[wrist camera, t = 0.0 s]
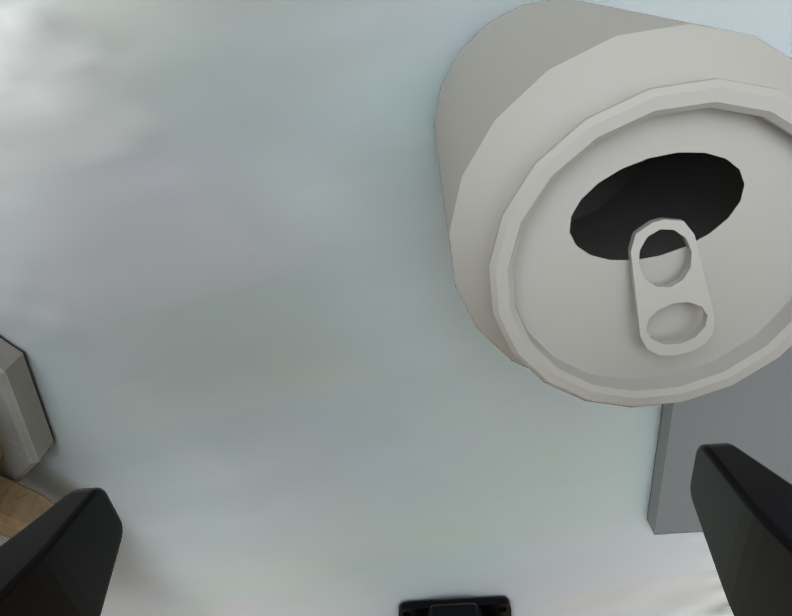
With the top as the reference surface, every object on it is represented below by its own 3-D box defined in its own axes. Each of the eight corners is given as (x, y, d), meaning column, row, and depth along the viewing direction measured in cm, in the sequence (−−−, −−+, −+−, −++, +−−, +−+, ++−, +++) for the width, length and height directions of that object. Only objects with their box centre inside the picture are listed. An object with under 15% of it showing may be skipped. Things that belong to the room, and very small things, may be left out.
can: (638, -40, 18) (951, -48, 8) (661, 186, 21) (894, 391, 11) (406, 42, 19) (398, 130, 9) (463, 242, 23) (506, 472, 12)
